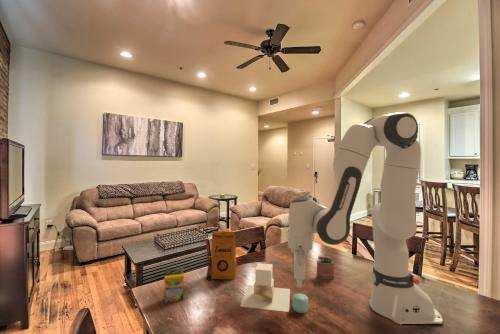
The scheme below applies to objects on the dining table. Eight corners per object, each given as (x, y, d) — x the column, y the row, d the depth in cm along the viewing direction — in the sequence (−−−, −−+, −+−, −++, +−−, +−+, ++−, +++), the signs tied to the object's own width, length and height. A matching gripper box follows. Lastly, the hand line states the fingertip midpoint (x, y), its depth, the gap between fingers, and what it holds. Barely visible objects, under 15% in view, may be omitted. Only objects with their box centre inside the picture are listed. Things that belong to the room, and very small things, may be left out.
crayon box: (164, 303, 93) (164, 273, 93) (164, 298, 96) (164, 270, 96) (183, 300, 95) (183, 271, 95) (183, 296, 98) (183, 267, 98)
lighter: (333, 276, 116) (333, 255, 116) (334, 279, 112) (335, 258, 112) (316, 275, 117) (316, 254, 116) (317, 278, 113) (317, 257, 113)
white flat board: (290, 291, 102) (290, 289, 102) (289, 314, 86) (289, 311, 86) (248, 287, 105) (248, 284, 105) (239, 308, 90) (239, 306, 90)
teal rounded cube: (307, 307, 91) (307, 294, 90) (308, 316, 85) (308, 302, 85) (292, 305, 92) (292, 292, 91) (292, 315, 86) (292, 301, 86)
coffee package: (235, 283, 109) (235, 234, 109) (208, 281, 111) (208, 233, 110) (239, 273, 119) (239, 228, 118) (214, 271, 120) (214, 227, 120)
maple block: (273, 293, 99) (273, 278, 99) (272, 302, 92) (272, 287, 92) (256, 291, 100) (256, 277, 100) (254, 300, 93) (254, 285, 93)
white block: (272, 279, 98) (272, 264, 98) (271, 286, 92) (271, 270, 92) (257, 277, 99) (258, 263, 99) (255, 284, 93) (255, 269, 93)
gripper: (310, 253, 77) (309, 296, 77) (307, 234, 97) (306, 268, 97) (290, 251, 78) (289, 293, 79) (291, 233, 98) (290, 267, 99)
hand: (298, 279), depth 88 cm, fingers open, 8 cm apart
